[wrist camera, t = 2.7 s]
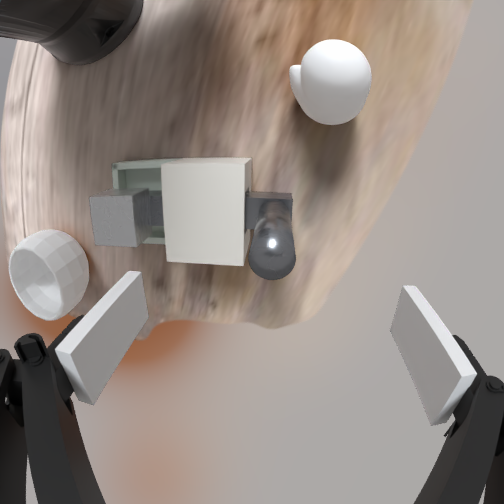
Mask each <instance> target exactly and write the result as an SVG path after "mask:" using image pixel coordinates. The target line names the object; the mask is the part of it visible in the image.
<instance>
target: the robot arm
mask: <svg viewBox="0 0 504 504" xmlns="http://www.w3.org/2000/svg"><path fill="white" fill-rule="evenodd" d="M142 4H143V0H0V37H5V38H12V39H18V40H24V41H30V42H35V43H39V44H40V45H42V46H43V47H44V48H45V49H46V50H47V51H49V52H50V53H51V54H52V55H53V56H54V57H55V58H56V59H58V60H60V61H62V62H65V63H70V64H74V65H83V64H88V63H92V62H94V61H97V60H99V59H101V58H102V57H104V56H106V55H107V54H109V53H110V52H111V51H113V50H114V49H115V48H116V47H117V46H118V45H119V44H120V43H121V42H122V41H123V40H124V39H125V38H126V37H127V36H128V34H129V33H130V32H131V30H132V29H133V27H134V25H135V24H136V22H137V20H138V18H139V15H140V12H141V9H142ZM148 318H149V315H148V309H147V304H146V298H145V292H144V285H143V279H142V272H137V271H128V272H127V273H126V274H125V275H124V276H123V277H122V278H121V279H120V280H119V281H118V282H117V283H116V284H115V285H114V286H113V287H112V288H111V289H110V290H109V291H108V292H107V293H106V294H105V295H104V296H103V297H102V298H101V299H100V300H99V301H98V302H97V304H96V305H95V306H94V307H93V308H92V309H91V310H90V311H89V312H88V313H87V314H86V315H81V316H79V317H78V318H76V319H74V320H73V321H72V322H71V323H70V324H69V325H68V326H67V328H65V329H64V330H63V331H62V334H60V335H59V336H58V337H57V338H56V339H55V340H54V341H53V342H52V343H51V345H50V346H49V347H48V348H46V346H45V343H44V341H43V339H42V337H41V336H40V335H39V334H36V333H31V334H26V335H24V336H22V337H21V338H19V339H18V340H17V342H16V343H15V345H14V348H15V350H16V352H17V354H18V356H19V358H20V360H18V359H12V357H11V355H10V353H9V351H8V350H6V349H0V504H26V469H27V455H28V458H29V464H30V469H31V474H32V479H33V484H34V488H35V492H36V496H37V500H38V504H106V503H105V501H104V499H103V496H102V494H101V491H100V489H99V486H98V484H97V481H96V479H95V476H94V473H93V471H92V468H91V465H90V462H89V459H88V456H87V453H86V450H85V447H84V443H83V440H82V437H81V433H80V430H79V426H78V422H77V418H76V414H75V410H74V406H73V402H72V400H71V398H70V396H71V394H72V393H73V391H74V392H75V394H76V396H77V398H78V400H79V401H82V402H85V403H88V404H91V405H94V404H95V402H96V401H97V399H98V397H99V396H100V394H101V392H102V391H103V389H104V387H105V386H106V384H107V382H108V381H109V379H110V377H111V376H112V374H113V373H114V371H115V369H116V368H117V366H118V365H119V363H120V361H121V360H122V358H123V356H124V355H125V353H126V352H127V350H128V349H129V347H130V345H131V344H132V342H133V341H134V339H135V338H136V336H137V335H138V333H139V332H140V330H141V328H142V327H143V325H144V324H145V322H146V321H147V319H148ZM390 332H391V334H392V336H393V338H394V340H395V342H396V344H397V346H398V348H399V351H400V353H401V355H402V357H403V359H404V362H405V364H406V366H407V368H408V370H409V373H410V375H411V378H412V380H413V382H414V384H415V387H416V389H417V392H418V394H419V397H420V399H421V401H422V404H423V406H424V409H425V412H426V414H427V417H428V419H429V422H430V424H431V426H433V425H437V424H442V423H446V422H447V420H448V419H449V418H450V416H451V414H452V413H453V414H454V417H455V419H456V420H455V421H454V423H453V424H452V425H451V427H450V428H449V429H448V431H447V432H446V433H445V435H444V436H445V437H446V436H447V434H448V436H447V438H446V441H445V443H444V445H443V448H442V450H441V452H440V454H439V457H438V459H437V461H436V463H435V465H434V467H433V469H432V471H431V473H430V475H429V477H428V479H427V481H426V483H425V485H424V487H423V488H422V490H421V492H420V494H419V495H418V497H417V499H416V501H415V502H414V504H478V503H479V501H480V498H481V495H482V492H483V490H484V487H485V484H486V488H485V496H484V503H483V504H504V383H503V382H502V381H501V380H500V379H498V378H497V377H494V376H487V375H486V373H485V372H484V371H483V369H482V367H481V366H480V364H479V363H478V361H477V360H476V359H475V357H474V356H473V354H472V352H471V351H470V350H469V348H468V346H467V345H466V344H465V342H464V341H463V340H462V339H460V338H459V337H458V336H456V335H451V333H450V332H449V330H448V329H447V328H446V326H445V325H444V324H443V322H442V321H441V319H440V318H439V316H438V315H437V314H436V312H435V311H434V310H433V308H432V307H431V306H430V304H429V303H428V302H427V300H426V299H425V298H424V296H423V295H422V294H421V292H420V291H419V290H418V289H417V287H416V286H402V290H401V294H400V298H399V301H398V305H397V308H396V312H395V315H394V319H393V322H392V326H391V329H390ZM5 398H7V401H6V403H5Z"/></svg>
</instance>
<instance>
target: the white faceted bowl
mask: <svg viewBox="0 0 504 504" xmlns="http://www.w3.org/2000/svg"><path fill="white" fill-rule="evenodd" d="M9 274H10V279H11V283H12V285H13V287H14V289H15V292H16V294H17V296H18V297H19V299H20V300H21V301H22V303H23V304H24V306H25V307H26V308H27V309H28V310H29V311H31V312H32V313H33V314H34V315H35V316H37V317H39V318H42V319H44V320H57V319H59V318H61V317H63V316H65V315H66V314H67V313H68V312H70V311H71V310H72V309H73V308H74V307H75V306H76V305H77V304H78V303H79V302H80V301H81V300H82V298H83V295H84V293H85V291H86V288H87V285H88V282H89V265H88V260H87V257H86V254H85V252H84V250H83V248H82V247H81V246H80V244H79V243H78V241H77V240H75V239H74V238H73V237H71V236H70V235H69V234H67V233H65V232H63V231H59V230H54V229H50V230H42V231H39V232H36V233H34V234H32V235H30V236H28V237H26V238H25V239H23V240H22V241H21V242H20V243H19V244H18V245H17V246H16V248H15V249H14V251H13V252H12V254H11V256H10V260H9Z"/></svg>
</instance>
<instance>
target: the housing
mask: <svg viewBox="0 0 504 504" xmlns="http://www.w3.org/2000/svg"><path fill="white" fill-rule="evenodd" d="M251 177H252V158H224V157H212V158H182V159H179V160H175V161H171V162H168V163H164V164H161V182H162V203H163V219H164V232H165V244H166V255H167V262H182V263H199V264H215V265H233V266H244V262H245V258H246V254H247V251H248V247H249V243H250V229H245V192H246V191H251Z"/></svg>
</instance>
